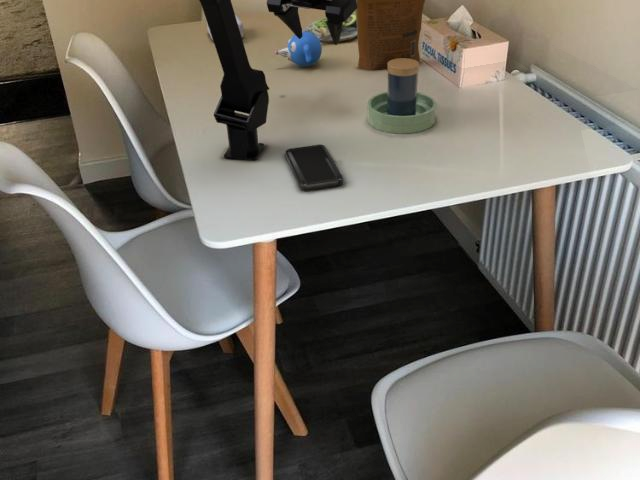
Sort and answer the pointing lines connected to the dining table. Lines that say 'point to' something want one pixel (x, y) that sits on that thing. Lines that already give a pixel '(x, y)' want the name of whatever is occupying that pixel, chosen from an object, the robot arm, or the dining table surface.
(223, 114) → the robot arm
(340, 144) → the dining table surface
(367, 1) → the pancake mix bag
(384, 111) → the bowl
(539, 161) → the dining table surface
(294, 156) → the phone
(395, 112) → the canister
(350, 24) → the salad plate
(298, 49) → the blue mole toy
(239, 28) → the charger
